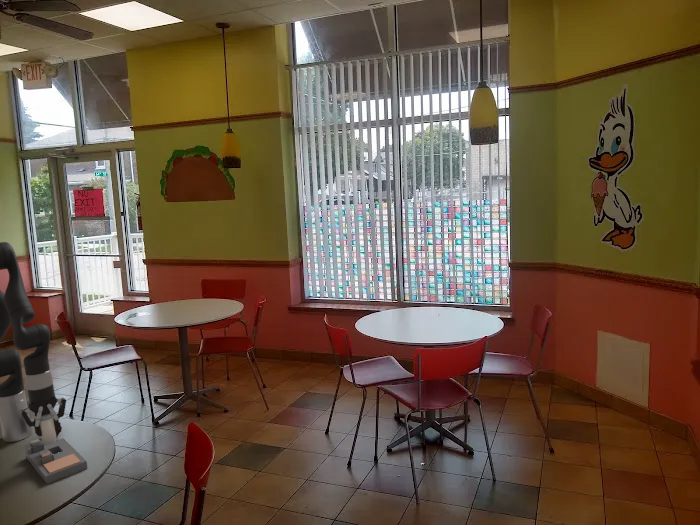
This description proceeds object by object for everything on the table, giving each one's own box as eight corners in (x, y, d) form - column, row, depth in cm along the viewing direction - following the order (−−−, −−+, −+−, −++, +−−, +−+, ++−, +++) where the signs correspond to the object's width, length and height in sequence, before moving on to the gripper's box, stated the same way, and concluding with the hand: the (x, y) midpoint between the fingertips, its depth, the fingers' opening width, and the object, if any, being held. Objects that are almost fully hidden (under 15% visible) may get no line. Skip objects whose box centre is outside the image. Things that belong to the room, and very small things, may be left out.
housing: (26, 458, 188) (24, 445, 187) (64, 444, 196) (62, 432, 195) (46, 484, 169) (44, 470, 169) (87, 468, 177) (85, 455, 177)
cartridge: (39, 442, 185) (34, 415, 183) (54, 437, 188) (49, 410, 187) (45, 446, 182) (40, 418, 180) (59, 441, 185) (55, 413, 184)
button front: (41, 460, 179) (39, 452, 179) (49, 457, 181) (47, 449, 180) (43, 463, 177) (41, 454, 177) (51, 460, 179) (49, 451, 179)
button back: (32, 449, 188) (30, 441, 188) (39, 446, 190) (38, 438, 189) (33, 451, 186) (32, 443, 186) (41, 449, 188) (40, 440, 187)
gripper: (60, 375, 189) (67, 422, 192) (12, 388, 180) (21, 437, 183) (66, 380, 184) (74, 428, 187) (18, 394, 174) (27, 444, 177)
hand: (47, 432), depth 185 cm, fingers closed on cartridge, 4 cm apart
